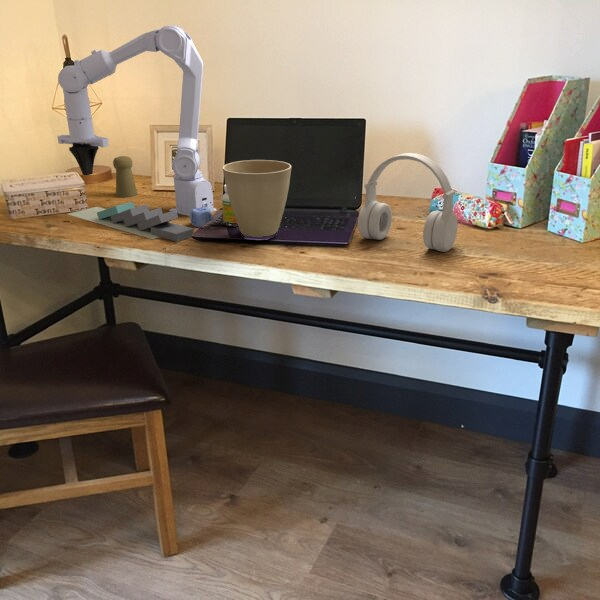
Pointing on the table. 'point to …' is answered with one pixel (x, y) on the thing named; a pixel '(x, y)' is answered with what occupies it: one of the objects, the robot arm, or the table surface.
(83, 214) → the mat
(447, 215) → the headphones
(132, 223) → the domino
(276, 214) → the plant pot
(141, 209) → the domino
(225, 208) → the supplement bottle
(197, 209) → the decorative dice
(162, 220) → the domino
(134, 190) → the cork
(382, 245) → the table surface
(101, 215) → the domino
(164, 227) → the domino
